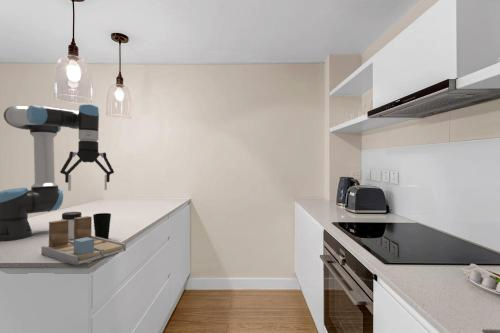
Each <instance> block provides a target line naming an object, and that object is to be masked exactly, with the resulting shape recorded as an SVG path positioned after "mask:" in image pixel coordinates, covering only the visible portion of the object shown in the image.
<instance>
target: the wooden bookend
mask: <svg viewBox="0 0 500 333" xmlns="http://www.w3.org/2000/svg"><path fill="white" fill-rule="evenodd" d="M92 217H93V216H89V215H85V216H81V217H78V218H74V239H73V241H74V240H76V239H80V238H85V237H88V238H91V236H92V224H93V223H92V220H93V219H92ZM92 239H93V238H92ZM102 243H104V241H102V240H98V239H94V245H97V244H102Z"/></svg>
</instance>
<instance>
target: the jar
mask: <svg viewBox="0 0 500 333" xmlns="http://www.w3.org/2000/svg"><path fill="white" fill-rule="evenodd" d="M78 217H82V212H81V211H68V212H67V211H66V212H63V213H62V214H61V219H60V220H68V241H69V240H74V218H78Z"/></svg>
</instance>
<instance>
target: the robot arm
mask: <svg viewBox="0 0 500 333" xmlns="http://www.w3.org/2000/svg"><path fill="white" fill-rule="evenodd" d="M99 111H100V110H99V106H97V105H94V104H90V103H89V104H88V103H81V104H79V106H78V110H72V109H71V110H70V109H62V108H55V107H49V106H43V105H34V104H33V105H29V106H27V105H12V106H10V107H7V108H6V109H5V110H4V112H3V118H4V119H3V120H4V121H5V123H7V124H8V125H9V126H11V127H13V128H15V129H20V130H26V131H27V130H28V131H29V134H30V136H31V137H33V157H34V158H33V159H34V160H33V161H34V162H33V163H34V164H33V166H34V183H33V184H32V185H31V187H30V190H29V189H28V187H17V188H16V187H15V188H10V189H4V190H1V191H0V241H3V242H4V241H5V242H6V241H15V240H20V239H25V238H29V237H31V236H32V235H33V232H32V231H33V230H32V228H31V225H30V222H29V219H28V218H29V217H28V214H29V215H30V214H36V213H38V214H39V213H46V212H48V213H49V212H54V211H57V210H59V209H60V208H61V206H62V204H63V200H64V193H63V190H62V189H61V188H59V185H58V184H57V183H56V182H55V181H56V180H55V179H56V178H55V144H54V138H55V137H56V136H57V135H58V133H59V132H61V130H62V128H69V129H74V130H78V144H77V146H78V149H77V150H78V151H77V152H76V151H69V155H68V158H67V159H66V161H65V163H64V164H63V166H62V168H61V170H60V171H59V173H61V174H63V175H64V176H65V178H64V179H65V180H64V182H65V183H67V185H68V187H67V188H68V189H67V190H68V191H69V192H70V191H71V190H72V175H71V172H73V171H74V170H75V168H77V166H79V164H80V163H94V162H95V163H96V165H98V166H99V168H100V169H101V170H102V171H103V172H104V173H105V174H104V190H105V191H107V189H108V188H107V187H108V186H107V183H110V176H111V175H112V174H115V170H114V169H113V167H112V165H111V163H110V161H109V159H108V157H107V153H106V152H99V142H98V141H99V124H100V123H99V122H100V121H99V120H100V113H99ZM76 156H77V157H78V160H77V161H76V162H75V163H74V164H72V166H71V167H70V168H69V169H68V170H66V169H67V168H68V166H69V165H70V163H71V161H72V159H73V158H75V157H76ZM99 157H101V158H103V159H104V162H105V164H106V166H107V167H108V169H109V170H108V169H107V168H106V167H105V166H104V165H103V164H102V163H101V162H100V161H99V160H98V158H99Z"/></svg>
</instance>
